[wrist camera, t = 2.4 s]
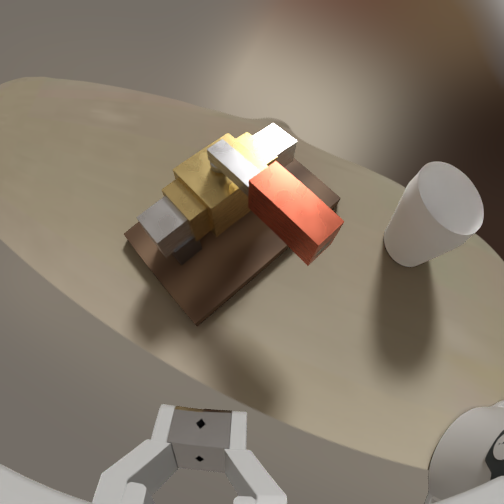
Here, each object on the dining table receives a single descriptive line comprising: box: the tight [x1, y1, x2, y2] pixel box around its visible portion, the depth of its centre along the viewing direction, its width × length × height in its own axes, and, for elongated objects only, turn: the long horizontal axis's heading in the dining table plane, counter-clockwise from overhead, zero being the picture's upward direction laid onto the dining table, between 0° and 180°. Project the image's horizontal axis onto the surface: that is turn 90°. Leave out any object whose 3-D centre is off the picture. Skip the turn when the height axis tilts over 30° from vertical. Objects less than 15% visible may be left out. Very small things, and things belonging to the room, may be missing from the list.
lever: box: [207, 139, 344, 265], centre depth 26 cm, size 13×3×5 cm, turn 42°
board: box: [124, 158, 340, 326], centre depth 38 cm, size 14×23×2 cm, turn 132°
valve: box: [137, 123, 297, 266], centre depth 34 cm, size 6×18×8 cm, turn 132°
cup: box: [384, 162, 484, 267], centre depth 33 cm, size 9×9×12 cm
